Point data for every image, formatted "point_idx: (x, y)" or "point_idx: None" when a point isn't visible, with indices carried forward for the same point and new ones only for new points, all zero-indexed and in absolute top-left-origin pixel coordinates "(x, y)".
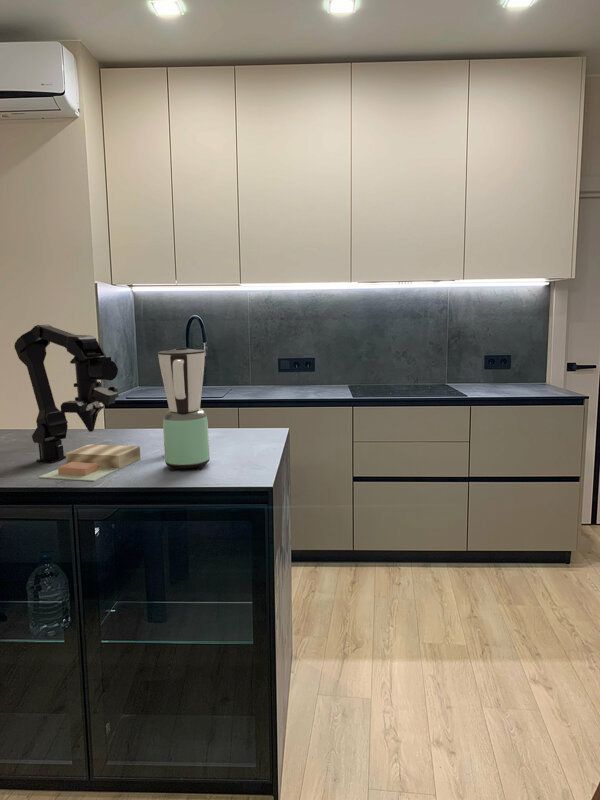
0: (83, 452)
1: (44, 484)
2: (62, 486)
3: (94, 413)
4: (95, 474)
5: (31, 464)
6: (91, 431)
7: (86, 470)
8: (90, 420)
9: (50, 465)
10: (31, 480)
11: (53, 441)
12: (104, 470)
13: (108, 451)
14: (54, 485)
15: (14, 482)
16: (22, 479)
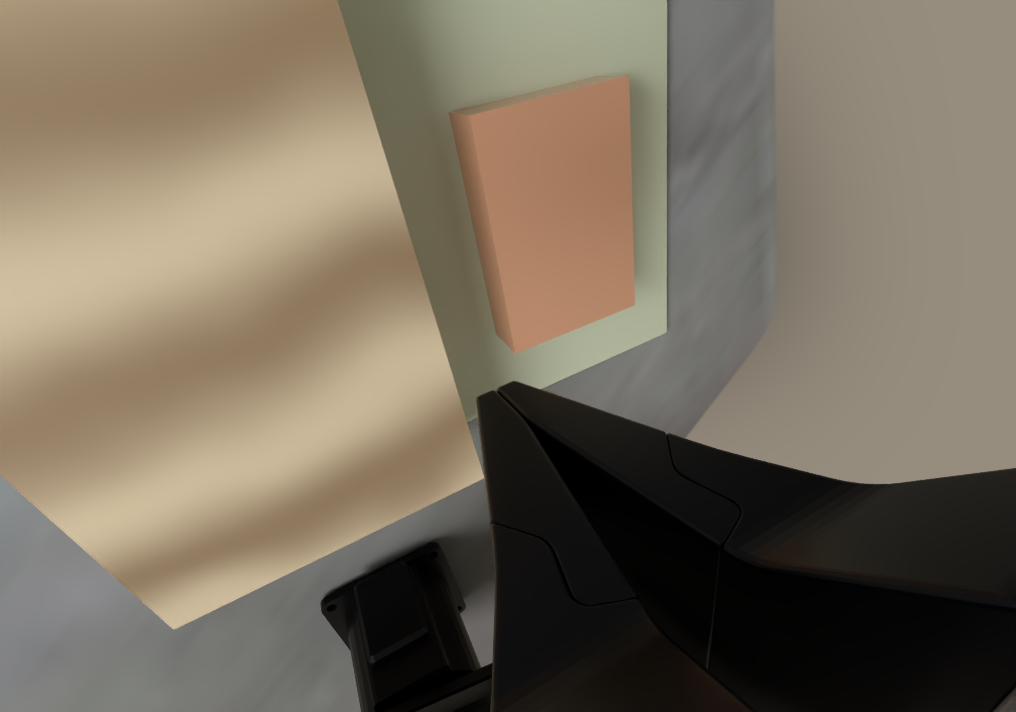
0: (406, 407)
1: (744, 194)
2: (768, 49)
3: (657, 638)
4: (547, 21)
5: None
6: (512, 386)
7: (603, 79)
8: (693, 443)
9: (478, 501)
10: (698, 319)
11: (439, 679)
12: (431, 42)
13: (236, 236)
14: (755, 120)
15: (729, 352)
16: (691, 368)
